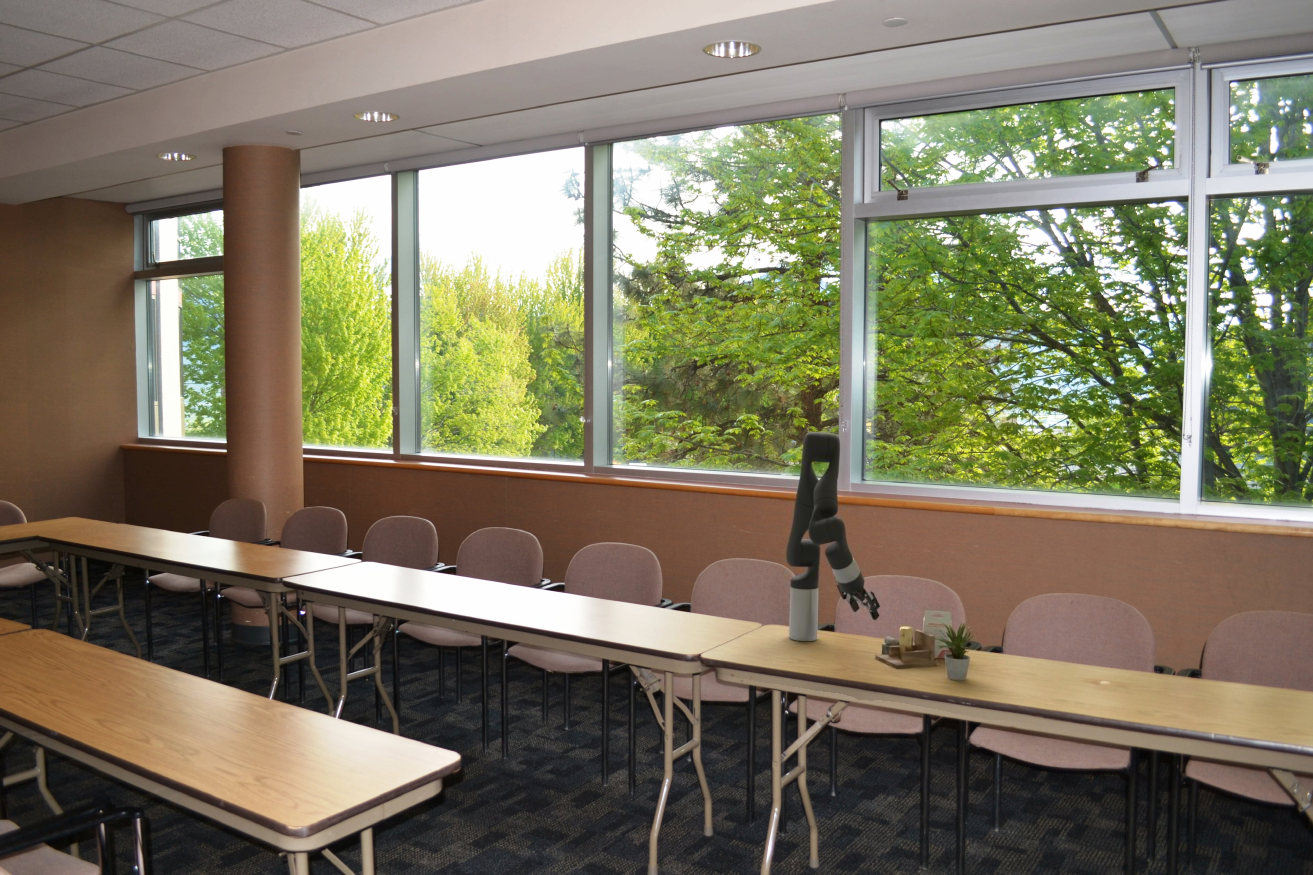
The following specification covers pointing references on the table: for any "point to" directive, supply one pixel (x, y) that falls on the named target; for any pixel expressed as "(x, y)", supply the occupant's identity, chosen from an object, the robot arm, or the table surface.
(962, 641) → the house plant
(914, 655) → the cradle
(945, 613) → the ink cartridge box
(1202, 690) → the table surface
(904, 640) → the spacer
